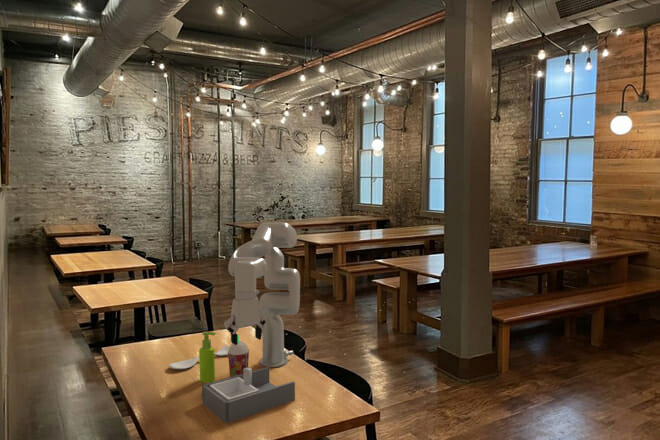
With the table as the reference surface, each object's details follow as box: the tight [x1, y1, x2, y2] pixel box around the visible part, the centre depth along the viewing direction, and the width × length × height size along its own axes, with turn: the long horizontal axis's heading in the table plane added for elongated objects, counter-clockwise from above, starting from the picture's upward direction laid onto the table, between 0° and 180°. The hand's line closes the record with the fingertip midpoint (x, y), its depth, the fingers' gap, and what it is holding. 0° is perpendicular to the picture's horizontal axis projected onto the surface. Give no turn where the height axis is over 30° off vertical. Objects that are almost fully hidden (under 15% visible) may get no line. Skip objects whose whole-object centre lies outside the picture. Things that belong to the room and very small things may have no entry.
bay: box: [201, 367, 296, 424], centre depth 185 cm, size 28×19×7 cm
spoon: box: [168, 344, 230, 370], centre depth 227 cm, size 9×32×4 cm, turn 136°
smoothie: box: [227, 334, 250, 378], centre depth 201 cm, size 8×8×20 cm
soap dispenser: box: [198, 331, 217, 384], centre depth 205 cm, size 6×7×20 cm
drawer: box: [209, 367, 259, 401], centre depth 182 cm, size 13×15×11 cm
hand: (246, 341), depth 183 cm, fingers open, 9 cm apart
